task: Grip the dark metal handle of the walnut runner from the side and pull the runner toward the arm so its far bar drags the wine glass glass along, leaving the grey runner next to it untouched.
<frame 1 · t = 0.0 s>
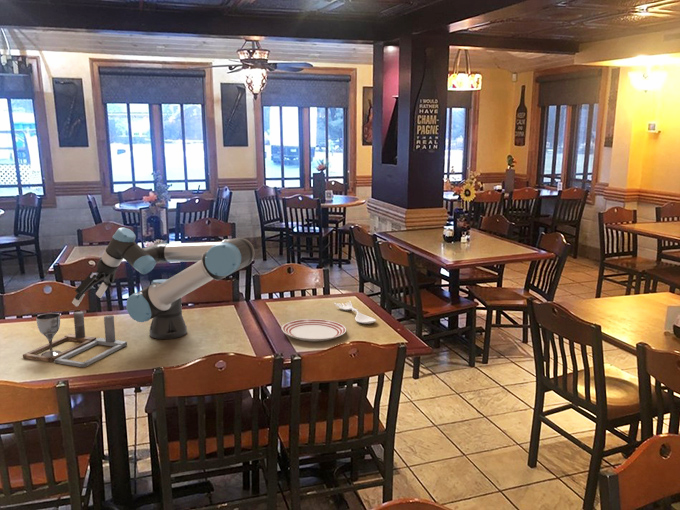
hand: (86, 300, 239), 15 cm above the table, tool tilted 35°, fingers open, 13 cm apart
wine glass: (51, 354, 221), on the table
walnut runner: (60, 334, 225), point 6 cm above the table, slide at 0.0 cm
dinner plate: (313, 335, 248), on the table
grey runner: (91, 339, 221), point 6 cm above the table, slide at 0.0 cm
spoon: (355, 316, 274), on the table
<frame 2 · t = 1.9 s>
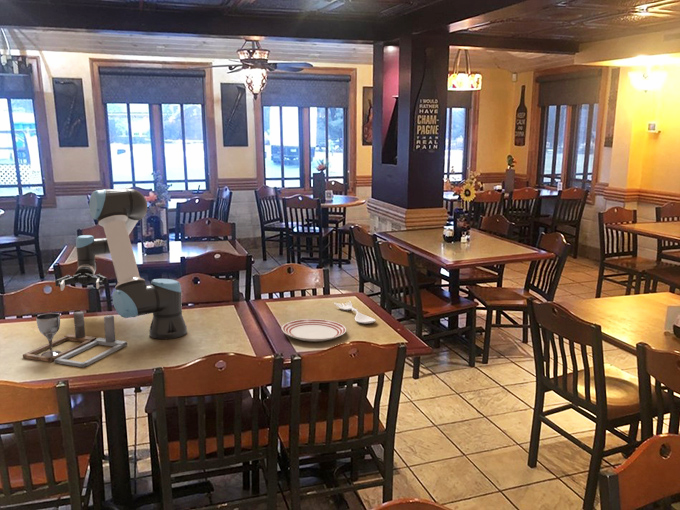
hand: (79, 286, 240), 20 cm above the table, tool horizontal, fingers open, 13 cm apart
nothing on the table moved.
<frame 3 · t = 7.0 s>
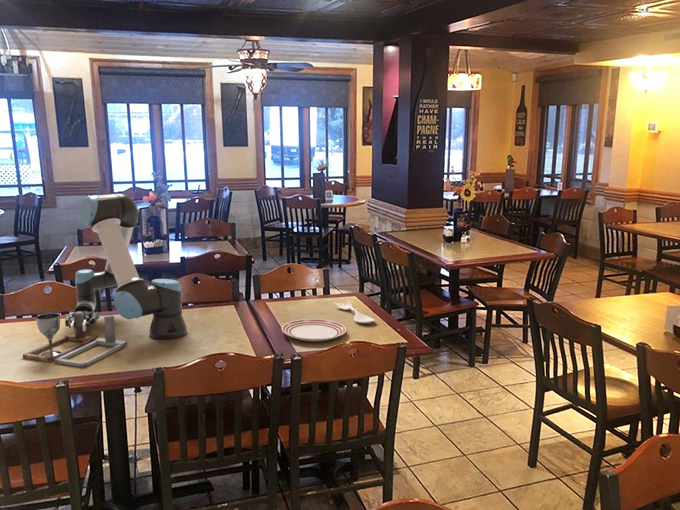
hand: (77, 328, 229), 7 cm above the table, tool horizontal, fingers closed on walnut runner, 4 cm apart
walnut runner: (60, 334, 225), point 6 cm above the table, slide at 0.0 cm, touching gripper
everything else where it was.
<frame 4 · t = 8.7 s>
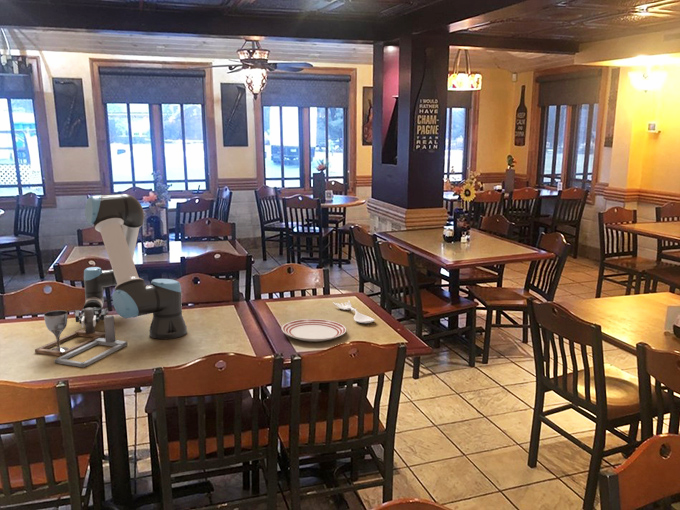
hand: (88, 323, 235), 7 cm above the table, tool horizontal, fingers closed on walnut runner, 4 cm apart
wine glass: (58, 350, 225), on the table, touching walnut runner
walnut runner: (71, 330, 230), point 6 cm above the table, slide at 5.8 cm, touching gripper, wine glass
everything else where it was.
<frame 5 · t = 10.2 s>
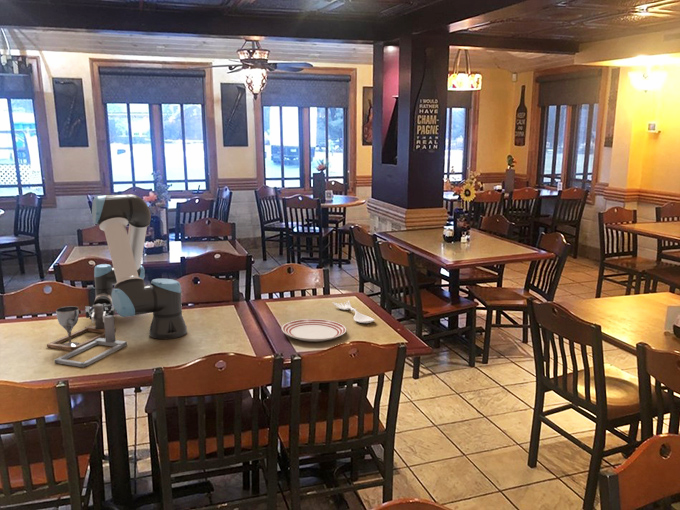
hand: (98, 319, 240), 7 cm above the table, tool horizontal, fingers closed on walnut runner, 4 cm apart
wine glass: (70, 345, 230), on the table, touching walnut runner
walnut runner: (81, 325, 236), point 6 cm above the table, slide at 11.7 cm, touching gripper, wine glass
everything else where it was.
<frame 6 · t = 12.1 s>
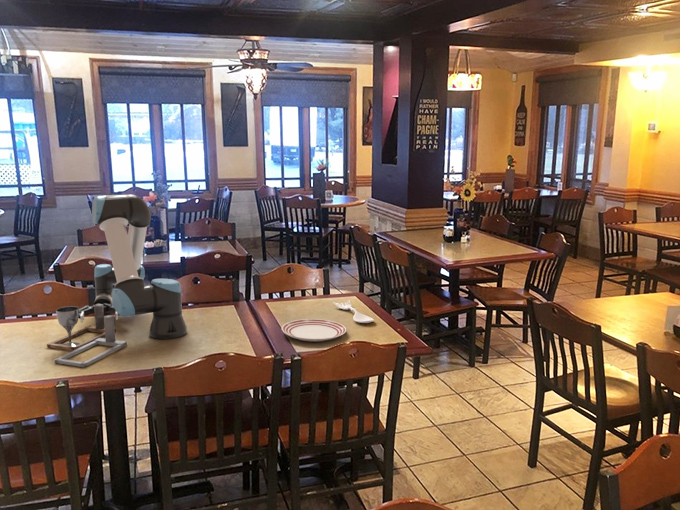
hand: (99, 317, 242), 7 cm above the table, tool horizontal, fingers open, 13 cm apart
wine glass: (70, 345, 230), on the table
walnut runner: (82, 325, 236), point 6 cm above the table, slide at 11.7 cm
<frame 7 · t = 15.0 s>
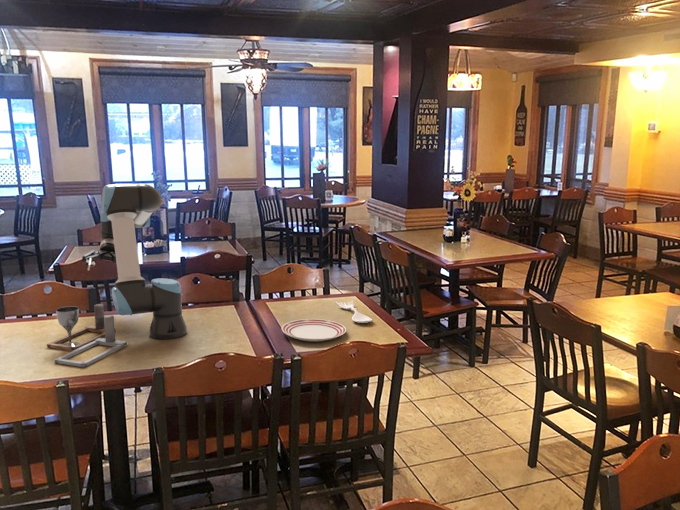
hand: (105, 270, 252), 24 cm above the table, tool horizontal, fingers open, 13 cm apart
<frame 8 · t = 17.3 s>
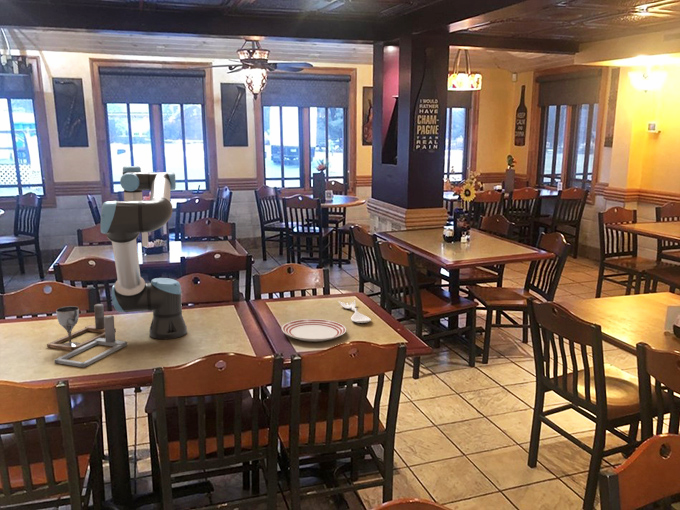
hand: (136, 249, 261), 32 cm above the table, tool pointing down, fingers open, 13 cm apart
at the end: walnut runner slide at 11.7 cm; wine glass inside the target area (1.2 cm from its centre), on the table; wine glass tilted 0° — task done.
